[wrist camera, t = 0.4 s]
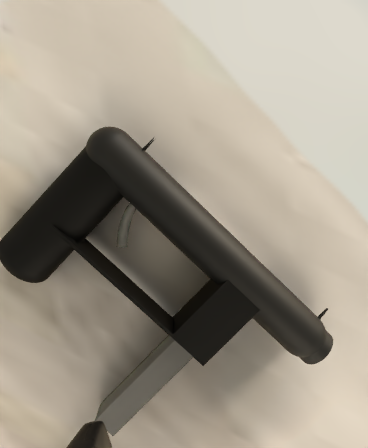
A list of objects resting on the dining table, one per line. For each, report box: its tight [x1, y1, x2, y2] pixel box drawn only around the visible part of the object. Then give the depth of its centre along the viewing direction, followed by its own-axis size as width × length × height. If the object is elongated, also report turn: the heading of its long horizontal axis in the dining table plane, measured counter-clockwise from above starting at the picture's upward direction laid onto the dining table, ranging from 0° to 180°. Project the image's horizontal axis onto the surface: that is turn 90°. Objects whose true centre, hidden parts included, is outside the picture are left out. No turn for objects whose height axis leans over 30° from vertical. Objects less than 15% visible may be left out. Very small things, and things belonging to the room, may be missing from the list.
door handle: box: [0, 127, 333, 436], centre depth 21 cm, size 3×20×16 cm
